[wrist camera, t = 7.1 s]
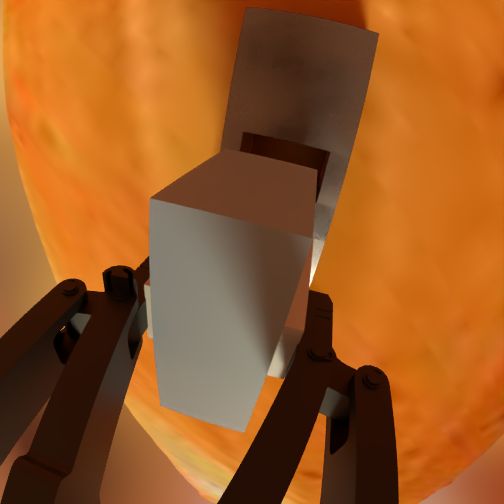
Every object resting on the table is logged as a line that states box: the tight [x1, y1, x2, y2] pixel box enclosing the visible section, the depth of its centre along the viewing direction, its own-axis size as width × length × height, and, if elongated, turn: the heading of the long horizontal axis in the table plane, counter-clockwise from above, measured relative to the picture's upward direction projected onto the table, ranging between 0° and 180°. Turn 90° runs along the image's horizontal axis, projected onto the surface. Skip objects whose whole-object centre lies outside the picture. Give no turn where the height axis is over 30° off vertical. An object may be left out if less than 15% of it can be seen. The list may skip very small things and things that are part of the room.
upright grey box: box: [149, 149, 317, 433], centre depth 14 cm, size 10×4×10 cm, turn 170°
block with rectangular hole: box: [220, 7, 379, 287], centre depth 22 cm, size 26×8×4 cm, turn 170°
